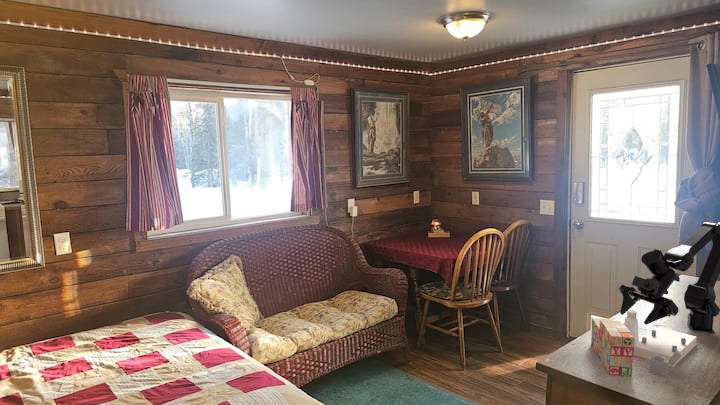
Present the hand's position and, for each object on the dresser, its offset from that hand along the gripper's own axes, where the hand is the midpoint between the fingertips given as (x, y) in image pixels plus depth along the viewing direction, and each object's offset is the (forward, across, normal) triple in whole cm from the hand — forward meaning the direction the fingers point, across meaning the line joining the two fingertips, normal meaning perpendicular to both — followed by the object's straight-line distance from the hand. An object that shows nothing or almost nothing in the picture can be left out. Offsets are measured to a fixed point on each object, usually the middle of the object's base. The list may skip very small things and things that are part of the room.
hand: (632, 318), depth 158 cm
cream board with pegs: (+2, +8, +10) cm, 13 cm away
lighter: (+13, +20, 0) cm, 23 cm away
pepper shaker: (+6, 0, +6) cm, 9 cm away
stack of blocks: (+18, +7, -5) cm, 19 cm away
